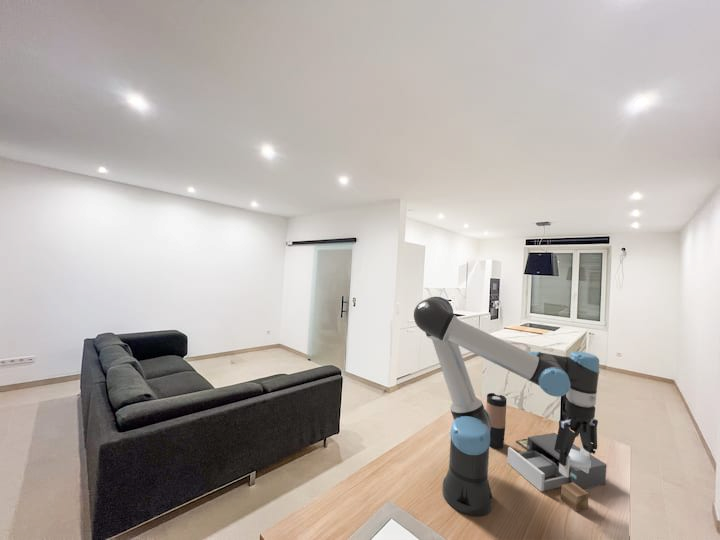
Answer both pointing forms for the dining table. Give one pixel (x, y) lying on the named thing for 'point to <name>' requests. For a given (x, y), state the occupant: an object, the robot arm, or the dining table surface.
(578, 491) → the walnut block
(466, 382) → the robot arm
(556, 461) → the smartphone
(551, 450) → the box
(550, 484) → the light grey drawer
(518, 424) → the dining table surface
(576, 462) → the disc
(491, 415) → the travel mug
